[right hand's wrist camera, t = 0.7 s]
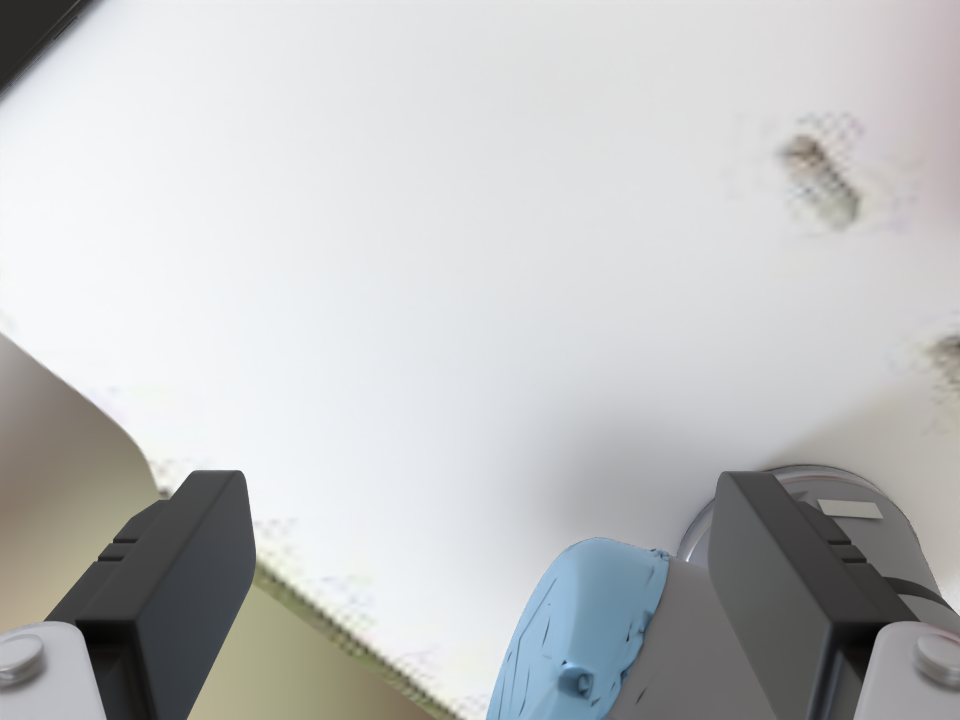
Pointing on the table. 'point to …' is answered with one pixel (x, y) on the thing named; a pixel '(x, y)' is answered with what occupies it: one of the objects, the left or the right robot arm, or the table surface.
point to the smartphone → (32, 32)
